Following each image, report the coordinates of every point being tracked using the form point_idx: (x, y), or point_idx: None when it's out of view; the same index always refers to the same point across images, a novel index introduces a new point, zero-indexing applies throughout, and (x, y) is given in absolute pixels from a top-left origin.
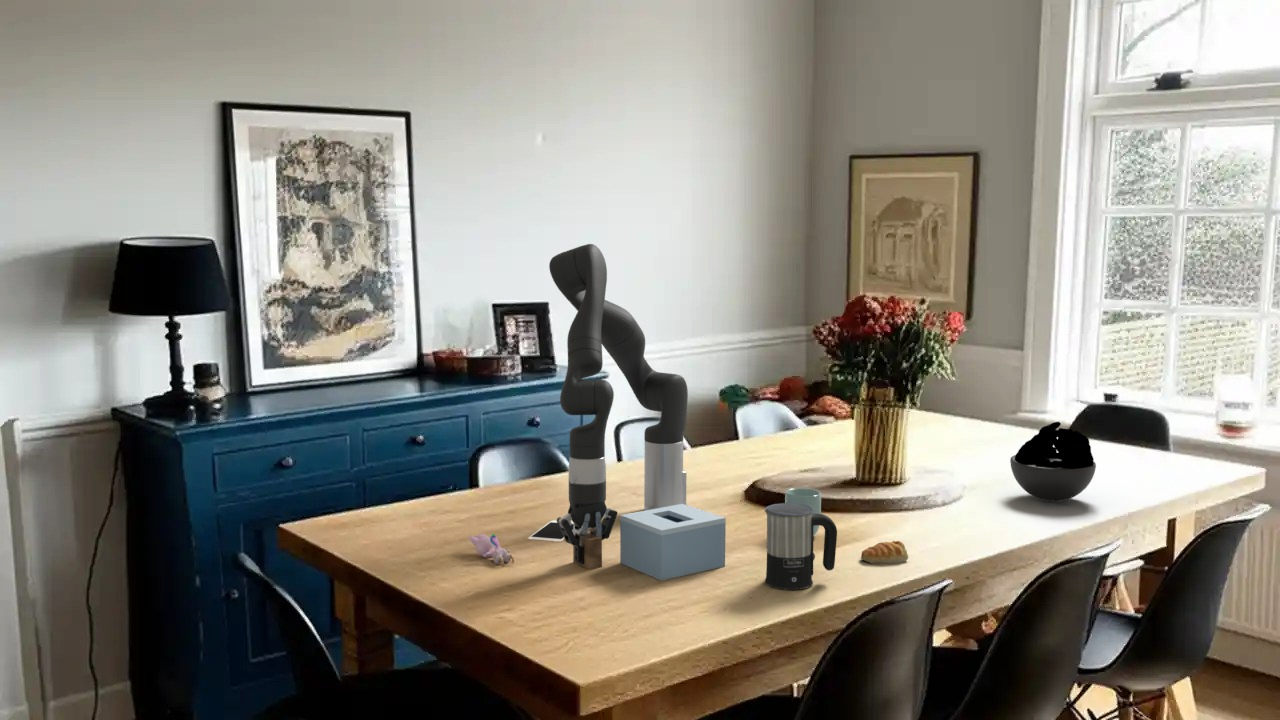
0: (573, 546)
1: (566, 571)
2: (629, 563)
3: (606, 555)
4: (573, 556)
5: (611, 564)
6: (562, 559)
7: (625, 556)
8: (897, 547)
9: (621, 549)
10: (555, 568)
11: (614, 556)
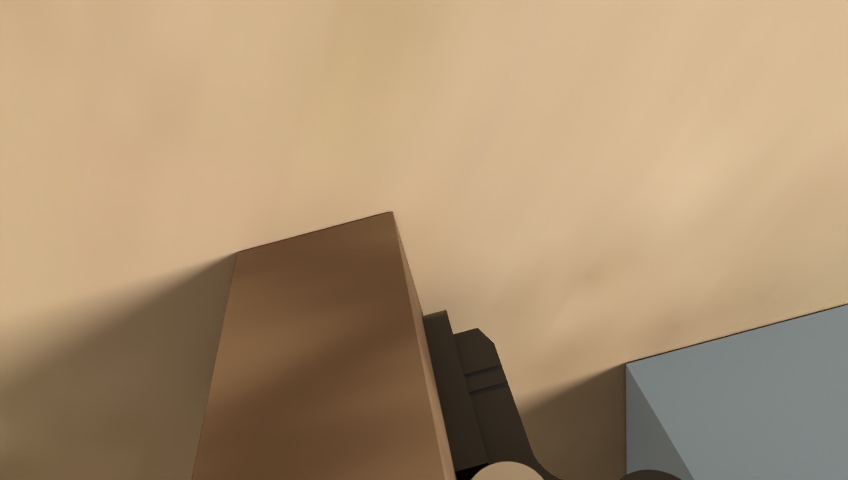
0: (212, 393)
1: (128, 446)
2: (637, 461)
3: (660, 136)
4: (230, 296)
5: (547, 374)
6: (116, 118)
7: (659, 468)
8: None
9: (686, 477)
10: (18, 372)
11: (703, 192)
